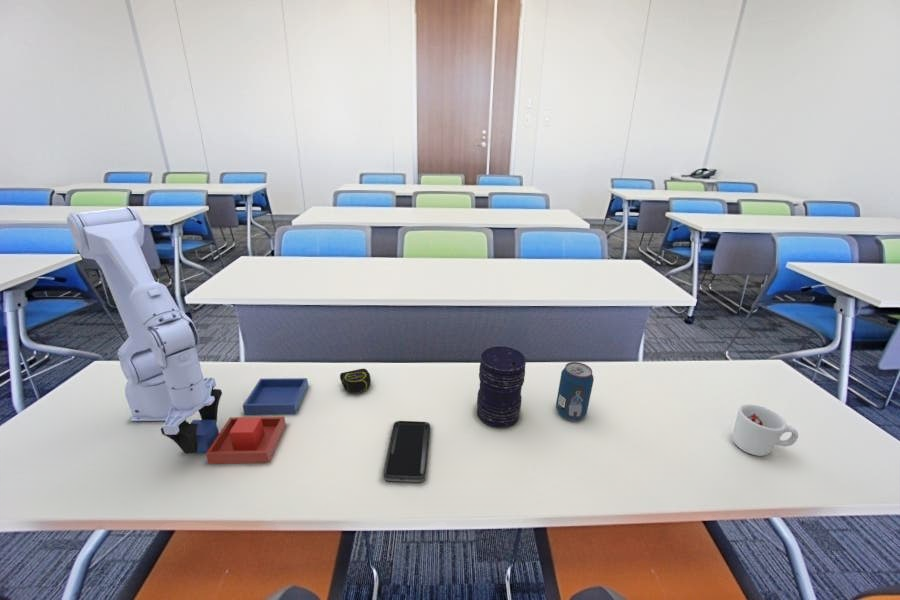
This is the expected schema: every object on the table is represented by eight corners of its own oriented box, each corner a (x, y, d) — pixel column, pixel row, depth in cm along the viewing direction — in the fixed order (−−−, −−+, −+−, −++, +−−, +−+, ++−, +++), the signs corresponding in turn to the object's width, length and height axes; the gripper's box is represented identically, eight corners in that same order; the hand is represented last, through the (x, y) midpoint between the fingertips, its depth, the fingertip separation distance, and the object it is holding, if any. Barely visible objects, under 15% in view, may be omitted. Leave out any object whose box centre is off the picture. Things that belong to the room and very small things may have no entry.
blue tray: (244, 414, 88) (242, 405, 87) (261, 387, 97) (260, 378, 96) (296, 414, 89) (294, 404, 88) (308, 386, 98) (307, 378, 97)
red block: (233, 450, 78) (229, 432, 76) (242, 434, 82) (238, 417, 80) (256, 449, 78) (252, 432, 76) (264, 433, 82) (261, 416, 80)
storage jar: (467, 411, 91) (470, 355, 85) (496, 395, 97) (501, 341, 91) (499, 435, 84) (505, 376, 78) (528, 416, 90) (536, 360, 84)
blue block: (185, 453, 77) (180, 435, 76) (197, 436, 81) (192, 419, 80) (209, 452, 78) (204, 435, 76) (219, 436, 82) (215, 419, 80)
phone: (430, 422, 86) (424, 478, 72) (430, 426, 86) (424, 482, 72) (393, 420, 86) (381, 476, 72) (394, 424, 86) (381, 480, 72)
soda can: (571, 400, 96) (579, 357, 91) (592, 418, 90) (602, 373, 86) (548, 407, 93) (555, 364, 88) (568, 426, 88) (577, 381, 83)
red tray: (208, 464, 75) (205, 453, 74) (232, 426, 84) (229, 417, 83) (268, 462, 76) (266, 452, 75) (286, 425, 85) (284, 416, 84)
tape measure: (367, 377, 102) (366, 365, 101) (373, 392, 97) (373, 379, 95) (340, 383, 100) (339, 370, 98) (345, 398, 94) (344, 385, 92)
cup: (780, 442, 85) (794, 412, 82) (796, 469, 78) (812, 438, 75) (722, 429, 88) (734, 400, 85) (733, 454, 81) (746, 424, 78)
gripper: (185, 405, 67) (203, 465, 72) (225, 359, 80) (238, 413, 86) (142, 405, 66) (163, 466, 72) (189, 359, 80) (204, 413, 85)
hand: (201, 437), depth 79 cm, fingers open, 7 cm apart
